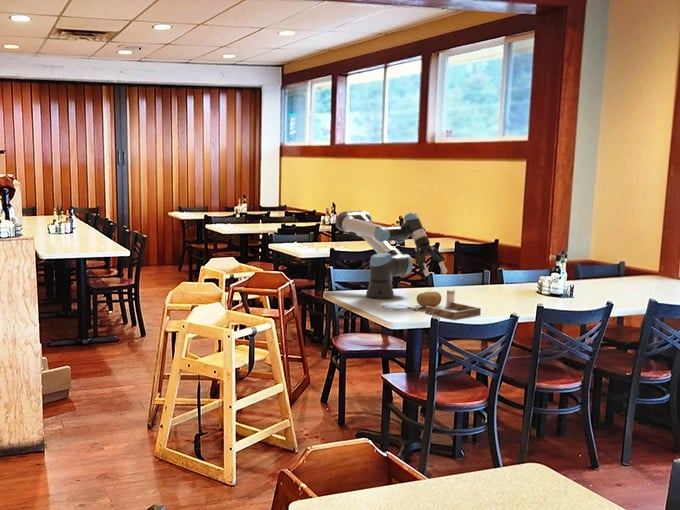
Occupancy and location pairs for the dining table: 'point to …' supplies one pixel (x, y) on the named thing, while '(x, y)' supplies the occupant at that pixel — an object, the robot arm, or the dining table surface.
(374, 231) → the robot arm
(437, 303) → the potato
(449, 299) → the pepper shaker
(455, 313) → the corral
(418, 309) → the dining table surface
